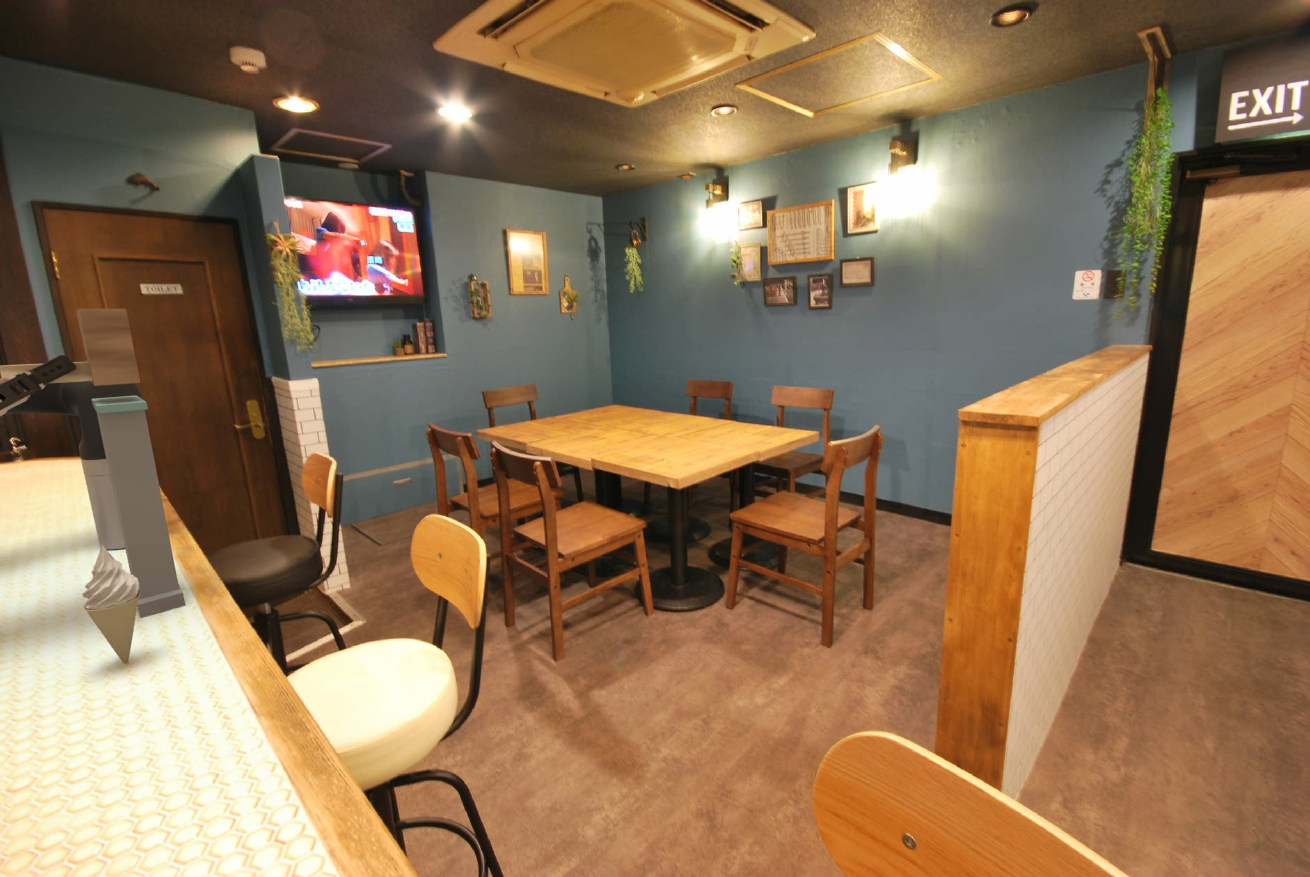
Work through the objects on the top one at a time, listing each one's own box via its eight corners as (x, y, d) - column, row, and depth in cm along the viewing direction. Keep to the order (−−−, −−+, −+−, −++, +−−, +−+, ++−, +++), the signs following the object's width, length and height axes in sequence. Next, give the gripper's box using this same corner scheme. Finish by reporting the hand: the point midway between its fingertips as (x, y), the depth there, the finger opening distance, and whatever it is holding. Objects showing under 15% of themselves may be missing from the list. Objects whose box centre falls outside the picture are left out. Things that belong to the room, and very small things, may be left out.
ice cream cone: (163, 654, 72) (139, 539, 69) (114, 677, 67) (87, 555, 64) (136, 648, 73) (112, 535, 71) (87, 670, 69) (59, 550, 66)
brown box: (7, 387, 78) (-11, 311, 76) (133, 379, 87) (120, 311, 85) (2, 391, 71) (-18, 308, 69) (140, 382, 80) (126, 308, 78)
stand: (131, 588, 91) (91, 398, 85) (172, 578, 95) (136, 395, 89) (140, 617, 81) (96, 405, 76) (185, 605, 85) (146, 401, 79)
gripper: (-135, 421, 63) (45, 336, 72) (-110, 410, 73) (46, 336, 81) (-65, 472, 67) (97, 386, 76) (-50, 455, 76) (92, 380, 85)
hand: (70, 360), depth 78 cm, fingers closed on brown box, 3 cm apart
